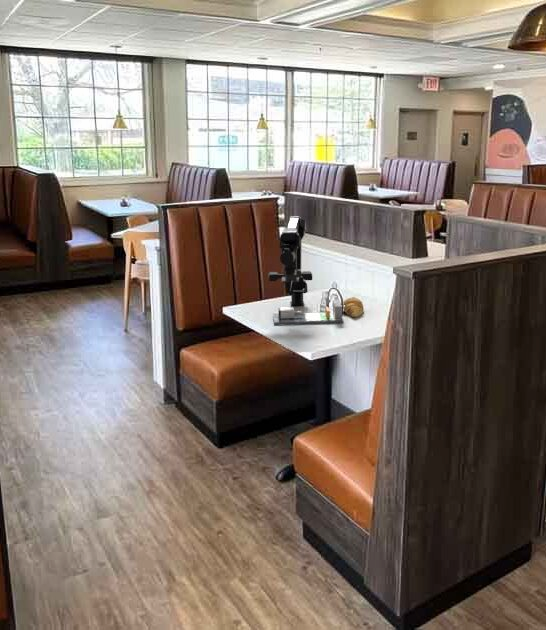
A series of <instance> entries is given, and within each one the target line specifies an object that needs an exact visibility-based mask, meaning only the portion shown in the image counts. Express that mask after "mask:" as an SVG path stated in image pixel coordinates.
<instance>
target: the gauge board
mask: <svg viewBox="0 0 546 630" xmlns="http://www.w3.org/2000/svg"><path fill="white" fill-rule="evenodd" d="M331 302H332V306H331V307H333V314H330V318H327V316H326V314H325V311H322V312H321V311H319V312H303V314H294V318H279V315H278V313H272V315H273V316H272V317H273V325H274V326H280V325H279V324H294V325H327V324H331V323H332V324H345V323H344V318H343V311H342V305H341V304H342V302H341V301H340V299H332V301H331Z"/></svg>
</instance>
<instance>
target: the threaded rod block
mask: <svg viewBox="0 0 546 630" xmlns="http://www.w3.org/2000/svg"><path fill="white" fill-rule="evenodd" d="M303 313H304V310H295V306H290V307H286V306H285V307H279V308H278V315H279V318H294V314H303Z"/></svg>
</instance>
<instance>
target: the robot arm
mask: <svg viewBox="0 0 546 630" xmlns="http://www.w3.org/2000/svg"><path fill="white" fill-rule="evenodd" d="M306 232H307V222H306V220H304V219H303V218H302V217H301V216H299V215H291V216H288V220H287V222H286V228H285V229H283V230H282V232H281V233H280V237H279V238H280V239H279V240H280V241H279V249H281V250H282V253H281V254H280V256H279V261H280V262H281V263H282V265H283V273H278V271H269V272H268V281H269V282H277V281H278V280H280V279H281V283H283V284H284V285H285V286H286V289H287V293H288V295H289V297H290V296H291V297H290V298H291V301H290V307H305V306H306V305H305V302H304V294H306V293H308V283H307V281H312V280H313V273H312V271H310V270H309V271H308V270H307V271H302V240H303V238H304V237H305V235H306Z"/></svg>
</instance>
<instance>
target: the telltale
mask: <svg viewBox="0 0 546 630" xmlns="http://www.w3.org/2000/svg"><path fill="white" fill-rule="evenodd" d="M324 308H325V311H324V312H325V314H326V316H327V318H330V312H331V311H330V308H329V306H325V307H324Z"/></svg>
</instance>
